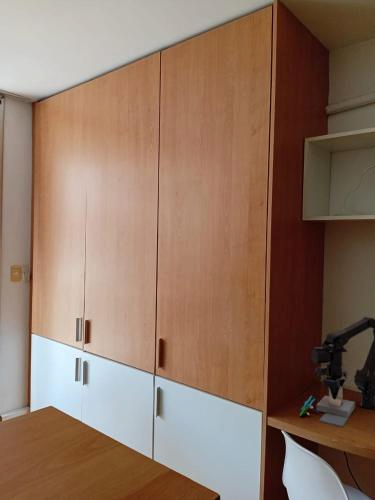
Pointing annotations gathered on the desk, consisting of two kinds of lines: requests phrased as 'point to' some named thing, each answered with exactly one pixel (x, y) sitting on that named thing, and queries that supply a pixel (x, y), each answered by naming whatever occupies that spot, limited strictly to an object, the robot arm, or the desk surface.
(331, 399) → the cream block
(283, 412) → the desk surface
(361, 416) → the desk surface
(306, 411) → the stick construction toy
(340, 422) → the dark gray panel
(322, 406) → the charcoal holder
